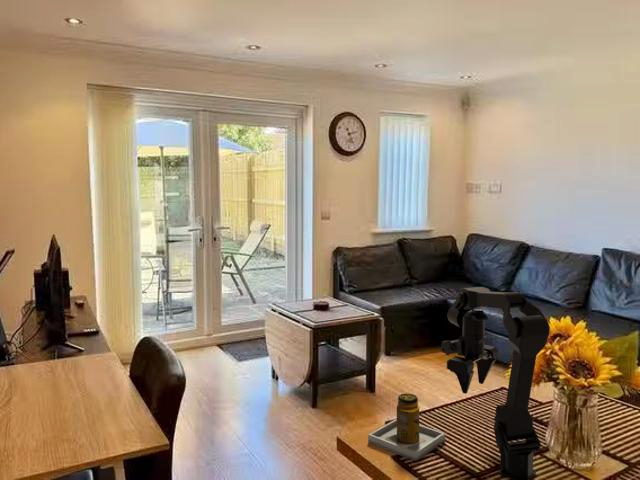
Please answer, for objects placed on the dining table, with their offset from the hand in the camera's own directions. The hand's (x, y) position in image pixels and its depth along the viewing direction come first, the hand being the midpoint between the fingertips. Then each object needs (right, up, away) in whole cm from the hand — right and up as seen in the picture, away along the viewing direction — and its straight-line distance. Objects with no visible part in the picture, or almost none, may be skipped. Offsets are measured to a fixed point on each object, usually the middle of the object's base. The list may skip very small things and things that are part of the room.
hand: (473, 388), depth 148 cm
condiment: (-19, -13, -3) cm, 23 cm away
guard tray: (-19, -14, -3) cm, 23 cm away
